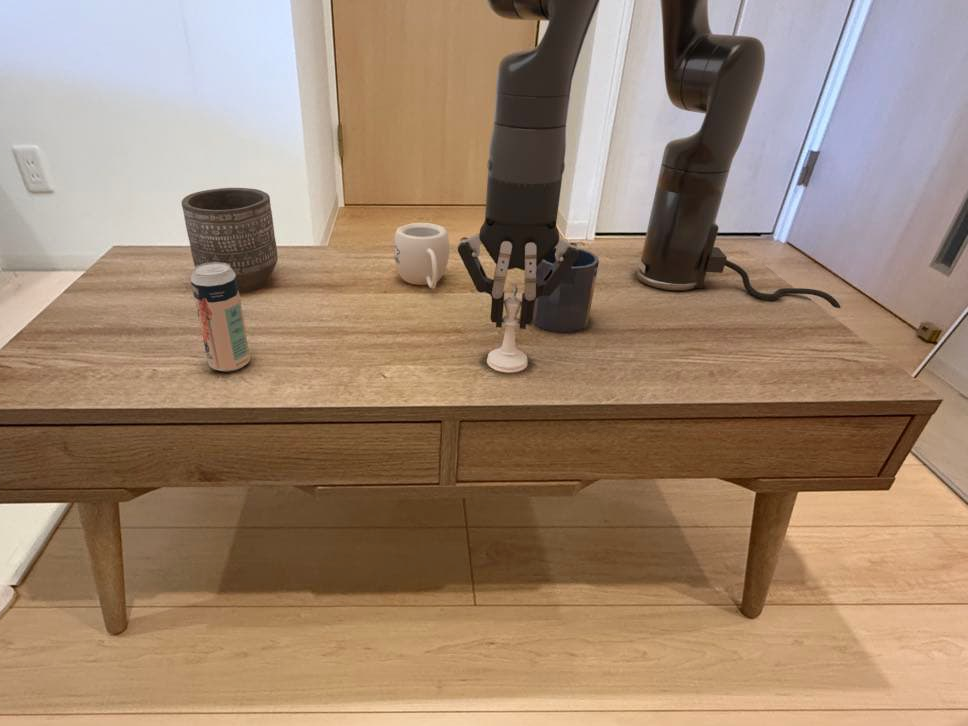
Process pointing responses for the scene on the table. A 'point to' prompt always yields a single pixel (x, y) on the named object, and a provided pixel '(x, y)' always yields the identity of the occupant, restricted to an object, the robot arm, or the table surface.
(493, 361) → the chess piece
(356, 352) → the table surface
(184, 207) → the planter
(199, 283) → the beer can
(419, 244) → the mug
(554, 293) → the slate cup
